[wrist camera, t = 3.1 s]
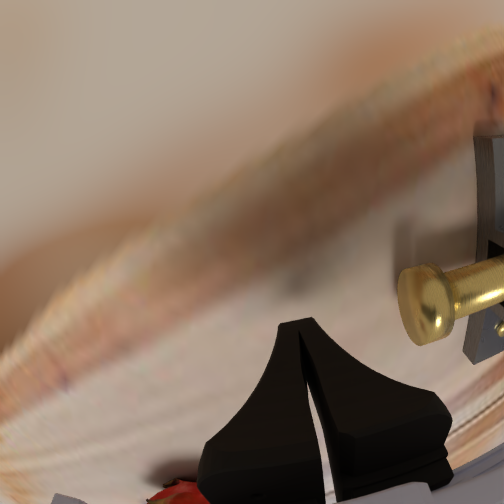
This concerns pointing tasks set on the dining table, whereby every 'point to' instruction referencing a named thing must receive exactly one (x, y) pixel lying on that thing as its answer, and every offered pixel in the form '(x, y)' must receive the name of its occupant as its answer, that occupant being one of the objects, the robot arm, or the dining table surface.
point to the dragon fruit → (179, 494)
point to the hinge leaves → (488, 246)
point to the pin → (446, 296)
